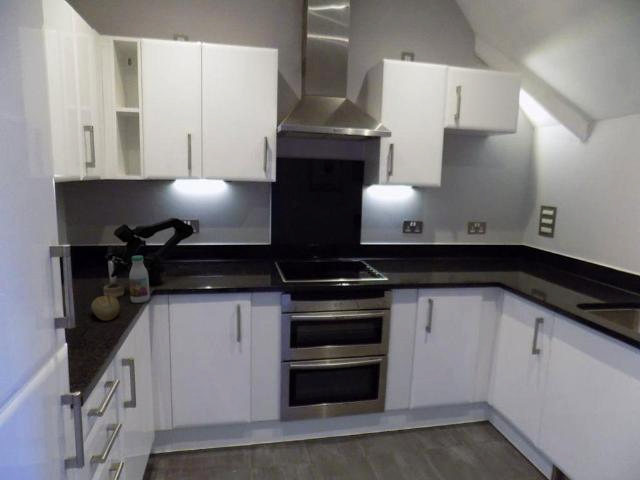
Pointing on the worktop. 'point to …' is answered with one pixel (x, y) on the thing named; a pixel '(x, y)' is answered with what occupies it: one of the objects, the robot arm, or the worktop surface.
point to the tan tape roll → (114, 290)
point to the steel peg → (112, 279)
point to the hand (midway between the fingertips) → (109, 276)
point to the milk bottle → (139, 281)
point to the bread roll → (105, 307)
